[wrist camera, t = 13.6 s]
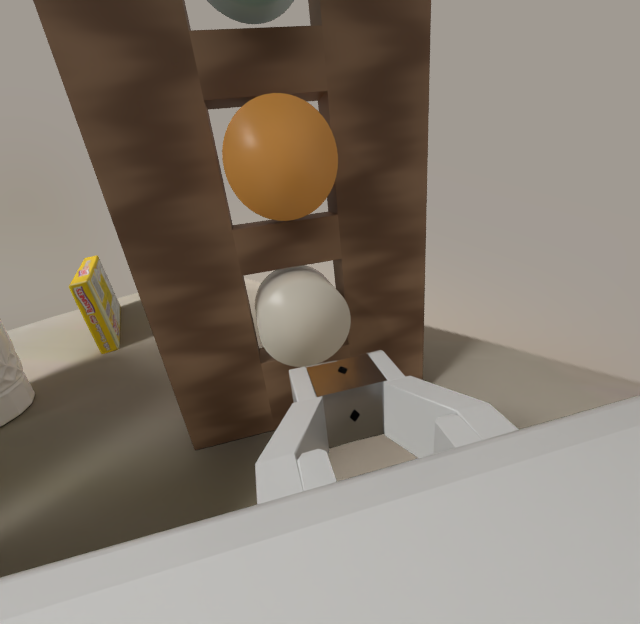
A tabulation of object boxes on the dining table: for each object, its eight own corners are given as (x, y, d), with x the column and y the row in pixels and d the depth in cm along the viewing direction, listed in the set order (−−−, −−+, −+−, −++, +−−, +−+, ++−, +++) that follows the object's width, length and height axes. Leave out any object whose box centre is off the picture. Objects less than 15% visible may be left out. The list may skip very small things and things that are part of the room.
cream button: (267, 375, 18) (249, 290, 16) (263, 346, 21) (247, 272, 19) (353, 355, 19) (347, 273, 17) (336, 330, 22) (329, 258, 20)
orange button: (236, 228, 14) (209, 97, 12) (236, 219, 18) (214, 114, 16) (342, 212, 15) (332, 88, 13) (324, 207, 18) (314, 106, 16)
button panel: (194, 450, 21) (-102, -375, 9) (205, 380, 28) (53, -122, 16) (422, 392, 23) (437, -296, 11) (378, 342, 31) (359, -111, 19)
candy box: (105, 312, 48) (83, 257, 45) (121, 307, 49) (100, 254, 45) (98, 356, 35) (65, 283, 31) (120, 349, 36) (91, 278, 32)
